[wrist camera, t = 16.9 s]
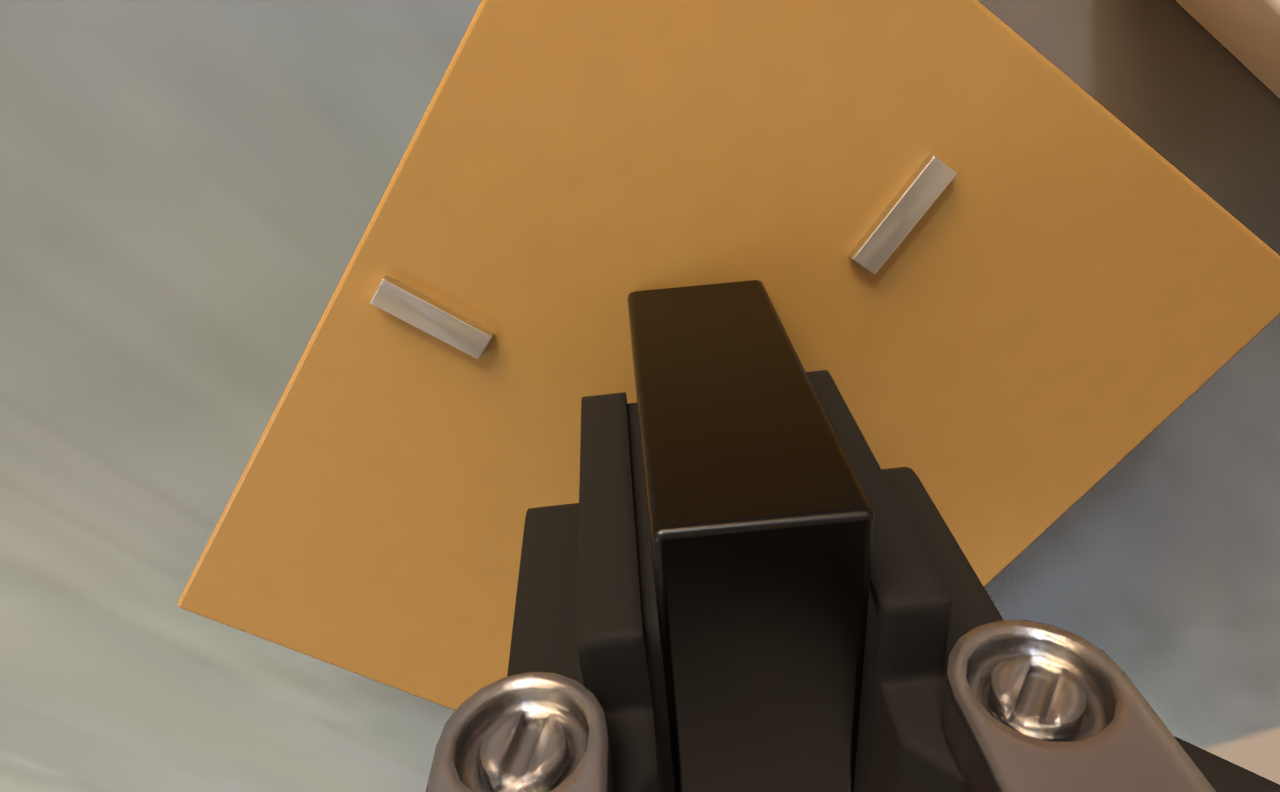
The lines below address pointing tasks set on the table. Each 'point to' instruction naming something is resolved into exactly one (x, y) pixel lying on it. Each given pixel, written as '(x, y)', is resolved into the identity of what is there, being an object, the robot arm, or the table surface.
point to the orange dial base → (711, 254)
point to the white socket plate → (1244, 33)
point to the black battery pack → (749, 546)
